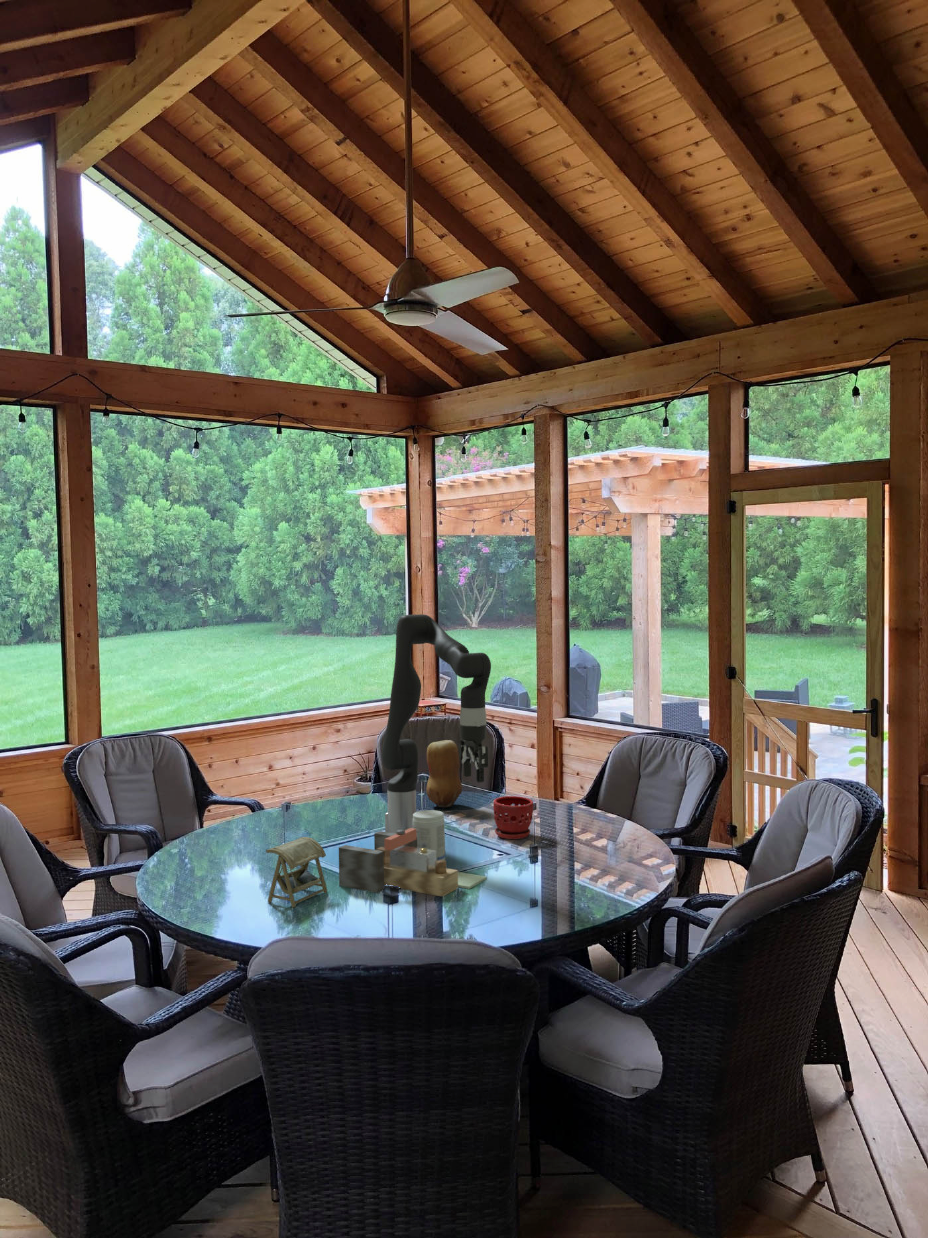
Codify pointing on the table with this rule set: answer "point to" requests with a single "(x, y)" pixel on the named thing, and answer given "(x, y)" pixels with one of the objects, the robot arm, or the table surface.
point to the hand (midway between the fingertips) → (473, 779)
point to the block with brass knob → (413, 859)
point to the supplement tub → (430, 831)
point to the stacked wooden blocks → (390, 871)
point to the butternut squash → (443, 773)
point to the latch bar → (400, 838)
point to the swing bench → (300, 879)
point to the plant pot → (513, 816)
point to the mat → (469, 880)
